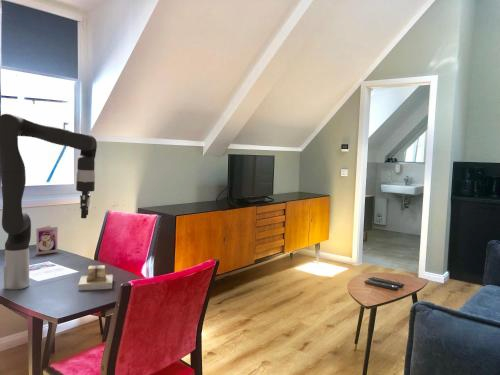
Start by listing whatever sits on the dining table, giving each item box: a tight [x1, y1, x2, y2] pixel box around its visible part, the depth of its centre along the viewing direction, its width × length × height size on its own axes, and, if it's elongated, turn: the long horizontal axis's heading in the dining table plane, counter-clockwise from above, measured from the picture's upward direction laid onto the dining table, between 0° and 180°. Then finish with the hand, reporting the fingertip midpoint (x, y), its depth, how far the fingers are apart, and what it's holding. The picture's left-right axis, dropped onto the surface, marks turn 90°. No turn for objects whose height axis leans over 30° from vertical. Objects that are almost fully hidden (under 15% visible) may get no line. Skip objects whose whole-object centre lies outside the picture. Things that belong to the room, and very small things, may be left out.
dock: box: [77, 274, 114, 291], centre depth 187 cm, size 14×12×3 cm
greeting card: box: [35, 225, 58, 255], centre depth 240 cm, size 11×7×15 cm, turn 132°
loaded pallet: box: [86, 264, 107, 282], centre depth 187 cm, size 8×5×6 cm, turn 107°
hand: (84, 216), depth 182 cm, fingers open, 8 cm apart
